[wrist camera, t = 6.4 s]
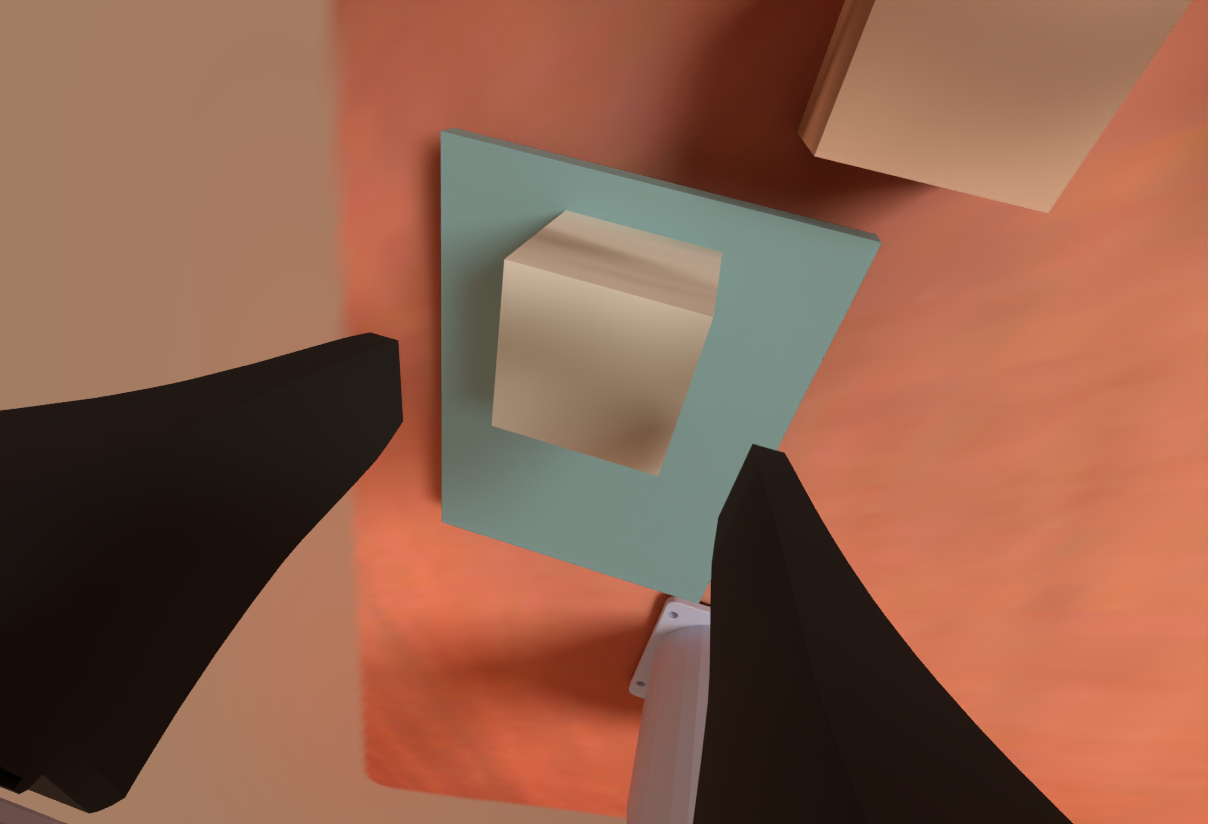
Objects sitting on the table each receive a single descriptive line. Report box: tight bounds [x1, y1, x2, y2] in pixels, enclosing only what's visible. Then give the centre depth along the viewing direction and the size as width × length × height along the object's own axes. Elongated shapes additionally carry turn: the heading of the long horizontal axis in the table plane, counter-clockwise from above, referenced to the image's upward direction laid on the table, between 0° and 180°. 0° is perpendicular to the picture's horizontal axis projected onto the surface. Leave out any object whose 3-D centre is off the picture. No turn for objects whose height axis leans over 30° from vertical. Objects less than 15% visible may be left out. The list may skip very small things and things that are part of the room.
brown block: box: [797, 0, 1192, 213], centre depth 10 cm, size 4×4×4 cm
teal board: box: [441, 128, 882, 604], centre depth 19 cm, size 16×12×2 cm
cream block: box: [492, 210, 722, 476], centre depth 14 cm, size 4×4×4 cm
